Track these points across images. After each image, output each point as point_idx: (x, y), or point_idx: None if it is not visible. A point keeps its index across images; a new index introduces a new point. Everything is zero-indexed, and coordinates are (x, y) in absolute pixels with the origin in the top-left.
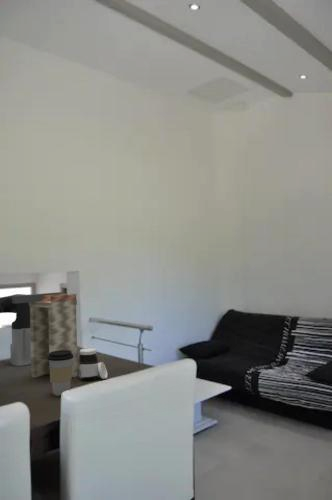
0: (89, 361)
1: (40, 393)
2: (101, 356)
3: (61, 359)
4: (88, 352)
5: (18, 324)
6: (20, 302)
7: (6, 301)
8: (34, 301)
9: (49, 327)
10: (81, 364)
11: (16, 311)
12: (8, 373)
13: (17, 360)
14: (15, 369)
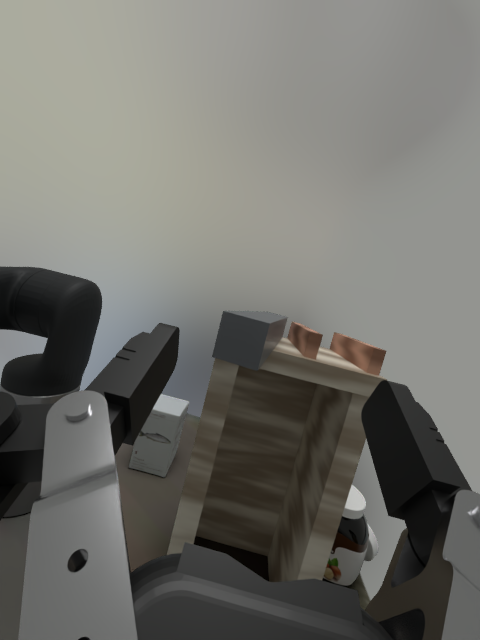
0: (368, 535)
1: None
2: (198, 423)
3: None
4: (364, 508)
5: (48, 381)
6: (264, 360)
7: (427, 416)
8: (272, 349)
9: (335, 470)
10: (353, 552)
11: (51, 336)
12: (6, 623)
13: (16, 499)
14: (20, 555)
